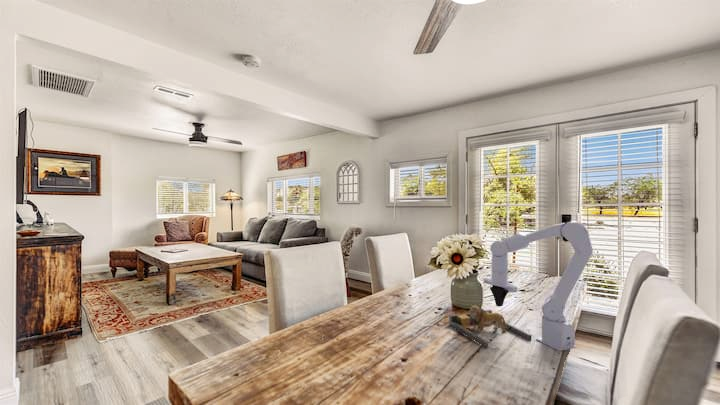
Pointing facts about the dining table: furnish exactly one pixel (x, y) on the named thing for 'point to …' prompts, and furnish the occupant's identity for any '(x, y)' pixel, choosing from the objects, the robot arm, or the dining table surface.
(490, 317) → the lion figurine
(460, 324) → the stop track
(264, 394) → the dining table surface
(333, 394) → the dining table surface
